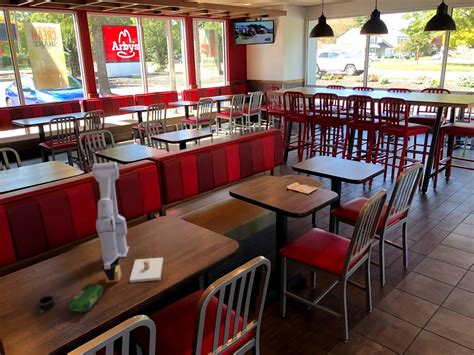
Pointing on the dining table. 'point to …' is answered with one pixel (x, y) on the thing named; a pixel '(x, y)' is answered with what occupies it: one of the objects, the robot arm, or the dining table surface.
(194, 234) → the dining table surface
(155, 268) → the post plate
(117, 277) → the tan wooden block
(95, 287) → the snack package
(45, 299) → the duct tape
